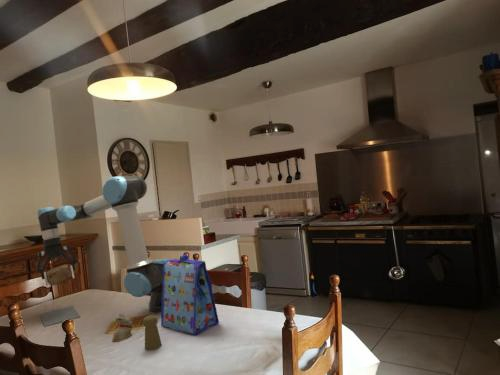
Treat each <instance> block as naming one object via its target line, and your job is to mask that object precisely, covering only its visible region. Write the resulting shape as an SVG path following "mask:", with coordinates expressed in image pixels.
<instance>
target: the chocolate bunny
mask: <svg viewBox="0 0 500 375" xmlns="http://www.w3.org/2000/svg"><path fill="white" fill-rule="evenodd" d="M115 321H116V322H118V324H119V326H118V327H117V328H116V329H115V330H114V332H113V336H112V339H111V341H112V343H114V342H120V341H121V342H122V341H124V340H126V339H129V338H130V337H131V336H132V335H133V334H132V329H133V326H132V325H133V321H132V318H131V317H128V316H125V315H124V314H123V313H121V312H118V315H117V316H116V317H115Z"/></svg>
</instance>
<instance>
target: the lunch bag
mask: <svg viewBox="0 0 500 375" xmlns="http://www.w3.org/2000/svg"><path fill="white" fill-rule="evenodd" d="M212 285H213V284H212V281H211V278H210V276H209V273H208V270H207V265H206V261H205V260H197V259H190V258H188V254H182V255H180V256H179V258H175V259H171V260H166V261H165V263H164V267H163V285H162V309H161V312H160V313H161V314H160V317H161V318H160V319H161V320H160V321H161V324H160V325H161V326H163V327H166V328H169V329H173V330H175V331H179V332H183V333H186V334H187V333H188V334H190V335H194V336H197V335H199V333H201V332H202V331H204V330H207V328H208V327H212V326H216V325H218V324H219V323H220V321H219V317H218V311H217V306H216V303H215V297H214V293H213V286H212Z"/></svg>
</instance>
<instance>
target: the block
mask: <svg viewBox="0 0 500 375" xmlns="http://www.w3.org/2000/svg"><path fill="white" fill-rule="evenodd" d="M45 272H46V277H47V282H48V285H50V286H55V285H58V284H60V283H62V282H64V281H66V280H68V279H70V278H71V277H72V273H71V270H70V266H69V264H61V265H59V266H56V267H53V268H51V269H48V270H47V271H45Z"/></svg>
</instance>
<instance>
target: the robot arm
mask: <svg viewBox="0 0 500 375" xmlns="http://www.w3.org/2000/svg"><path fill="white" fill-rule="evenodd" d="M147 191H148V185H147V183H146V181H145V179H143V178H142V177H140V176H137V175H117V176H112V177H108V179H106V181H105V183H104V184H103V187H102V194H101V195H99V196H98V197H95V198H92V199H91V200H89V201H87V202H84V203H82V204H78V205H77V204H76V205H63V206H60V207H57V208H54V206H47V207H46V206H45V207H42V208H39V209H38V210H37V219H38V223H39V226H40V231H41V237H42V239H43V241H42V243H43V246H44V250H42V251H38V252H37V256H38V257H37V258H38V259H37V263H36V268H35V273H38V274H40V276H41V280H44V282H45V283H44V284H45V286H47V287H48V286H49V283H48V282H47V277H46V272H47V271H45V270H46V267H47V265H48V263H49V261H50V259H51V258H55V257H59V256H60V257H62V259H64V260H65V261H66V262H68V263H69V269H70V271H71V273H72V275H71V277H72V278H71V279H75V273H74V272H75V271H76V266H75V264H76V263H78V259H77V258H76V256H75V254H74V253H73V251H71V248H70V245H69V244H68V245H65V246H63V245H62V241H61V237H59V236H60V230H59V227H58V225H60V224H63V223H68V222H75V221H79V220H88V219H91V218H93V217H94V215H97V214H99V213H101V212H104V211H107V210H109V209H112V210H114V211H115V212H116V215H117V220H118V223H119V228H120V232H121V235H122V240H123V243H124V249H125V252H126V256H127V261H128V265H127V266H126V273H127V274H126V275H125V276H124V279H123V285H124V288H125V290H126V292H127V293H128V294H129V295H131V296H132V297H135V298H142V297H144V296H148V295H149V294H150V298H149V303H148V309H149V311H150V312H152V313H161V309H162V285H163V267H164V263H165V261H166V260H172V258H156V259H150V258H149V255H148V251H147V247H146V244H145V243H146V242H145V237H144V235H143V230H142V225H141V222H140V218H139V214H138V210H137V206H138V205H139V200H140V199H142V198H144V197H145V196H146V194H147ZM63 250H64V251H67V254H69V256H70V258H69V257H68V256H67V255H66V254H64V253H63ZM44 255H47V256H46V258H45V261H44V262H43V265H42V267H41V263H42V259H43V256H44ZM71 259H72V260H71Z"/></svg>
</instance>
